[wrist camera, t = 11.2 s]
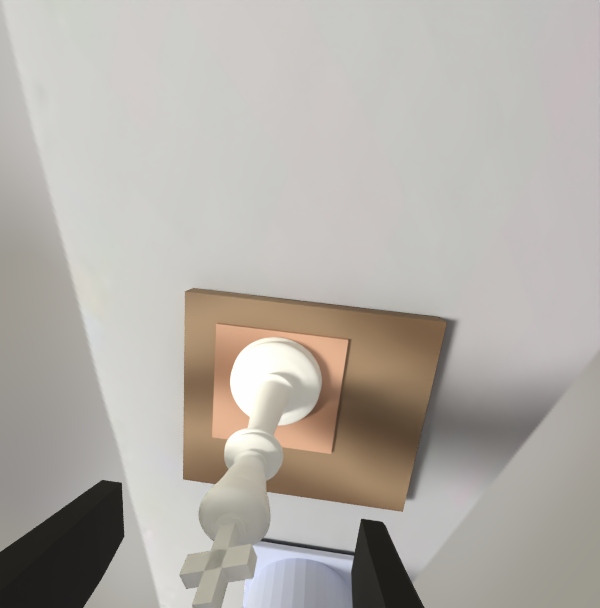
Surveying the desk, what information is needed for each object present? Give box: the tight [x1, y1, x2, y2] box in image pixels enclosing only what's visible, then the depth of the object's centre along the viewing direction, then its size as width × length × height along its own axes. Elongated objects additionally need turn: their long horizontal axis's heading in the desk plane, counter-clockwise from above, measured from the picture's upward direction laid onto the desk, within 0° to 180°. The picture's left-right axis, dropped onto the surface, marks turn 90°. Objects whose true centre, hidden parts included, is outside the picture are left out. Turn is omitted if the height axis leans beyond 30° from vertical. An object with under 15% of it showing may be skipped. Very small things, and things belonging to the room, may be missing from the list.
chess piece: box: [180, 337, 322, 608], centre depth 11 cm, size 5×5×10 cm
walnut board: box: [183, 288, 447, 512], centre depth 17 cm, size 12×14×1 cm
